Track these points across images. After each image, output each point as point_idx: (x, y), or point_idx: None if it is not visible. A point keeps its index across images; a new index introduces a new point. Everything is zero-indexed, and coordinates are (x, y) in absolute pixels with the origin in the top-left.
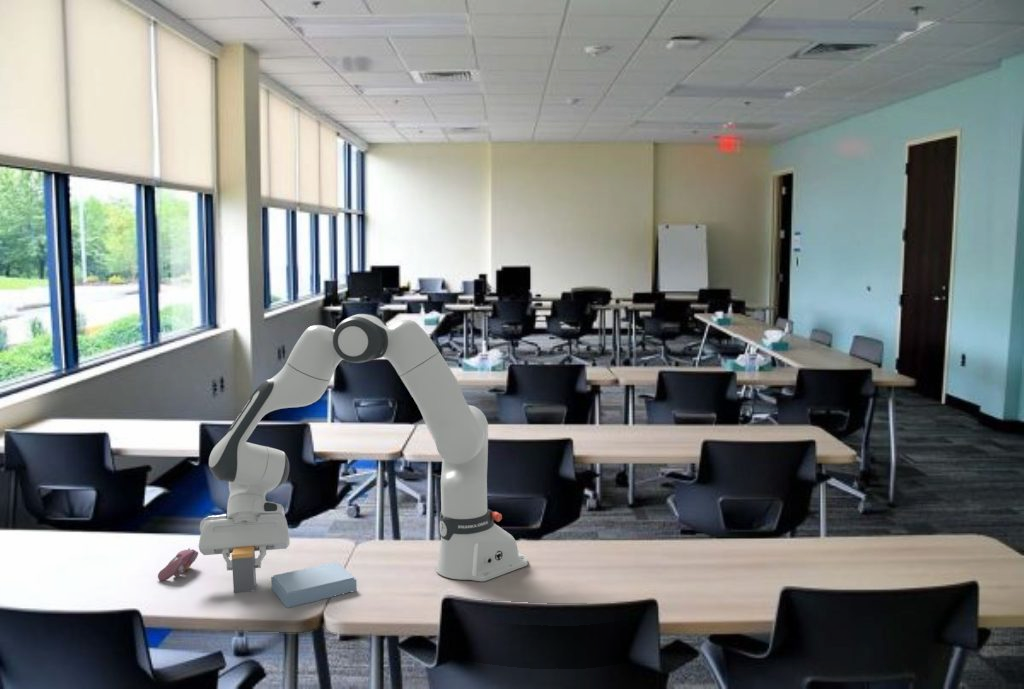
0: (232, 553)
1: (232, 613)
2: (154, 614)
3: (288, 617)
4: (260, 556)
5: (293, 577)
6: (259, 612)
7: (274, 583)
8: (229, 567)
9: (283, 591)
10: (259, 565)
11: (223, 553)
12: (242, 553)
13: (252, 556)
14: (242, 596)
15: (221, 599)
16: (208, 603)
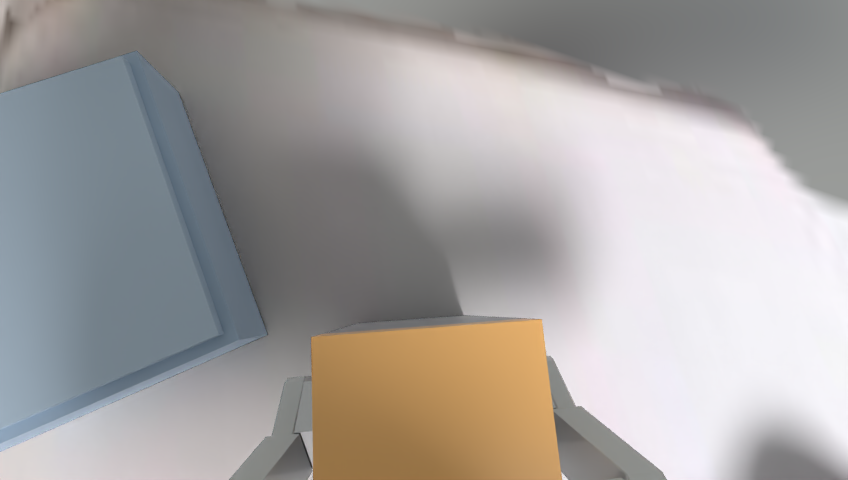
0: (540, 354)
1: (420, 84)
2: (745, 134)
3: (170, 3)
4: (265, 448)
5: (76, 274)
6: (302, 72)
7: (221, 270)
8: None
9: (152, 103)
10: (294, 378)
11: (652, 476)
12: (424, 334)
13: (320, 334)
14: (409, 258)
15: (505, 239)
16: (554, 204)
